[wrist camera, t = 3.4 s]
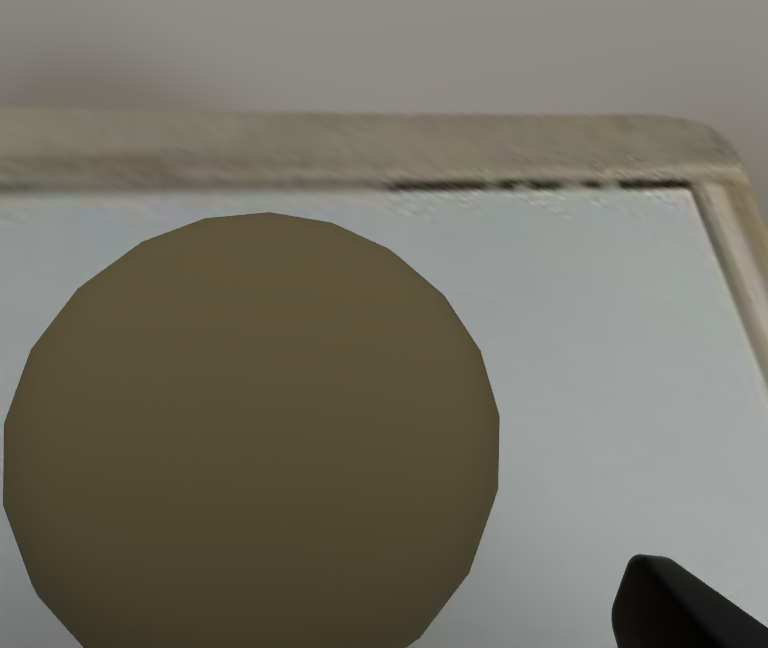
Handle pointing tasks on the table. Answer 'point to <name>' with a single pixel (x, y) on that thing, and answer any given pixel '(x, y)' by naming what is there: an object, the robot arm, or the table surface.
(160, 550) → the olive pawn figure
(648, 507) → the table surface
